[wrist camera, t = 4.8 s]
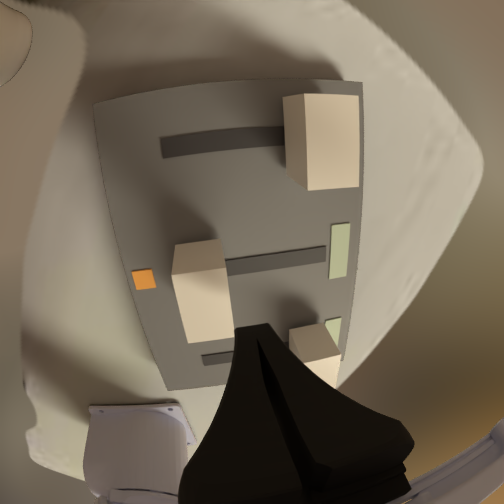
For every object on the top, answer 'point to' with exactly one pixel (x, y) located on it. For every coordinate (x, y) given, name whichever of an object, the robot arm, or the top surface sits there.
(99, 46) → the top surface
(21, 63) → the drinking glass
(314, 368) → the block
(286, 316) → the breaker panel
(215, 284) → the breaker
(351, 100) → the block
